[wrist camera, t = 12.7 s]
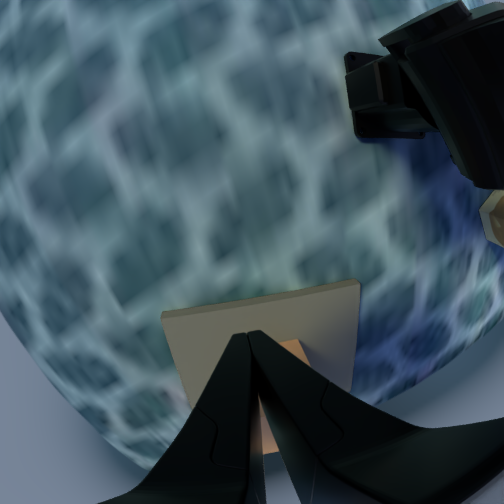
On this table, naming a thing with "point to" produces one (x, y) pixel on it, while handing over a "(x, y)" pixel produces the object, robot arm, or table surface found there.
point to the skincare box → (494, 217)
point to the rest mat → (269, 331)
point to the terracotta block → (267, 435)
